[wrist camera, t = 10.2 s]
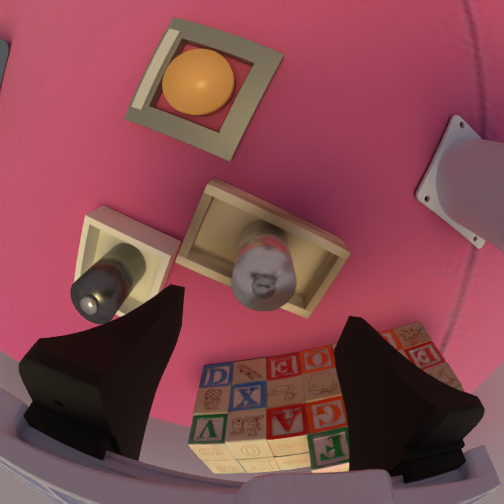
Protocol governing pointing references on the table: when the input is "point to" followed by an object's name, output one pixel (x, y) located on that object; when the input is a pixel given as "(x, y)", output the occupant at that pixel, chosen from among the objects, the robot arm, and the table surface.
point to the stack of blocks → (288, 408)
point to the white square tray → (137, 234)
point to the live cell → (263, 267)
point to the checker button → (199, 82)
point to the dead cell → (108, 283)
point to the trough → (228, 235)
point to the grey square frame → (243, 106)
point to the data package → (3, 57)
